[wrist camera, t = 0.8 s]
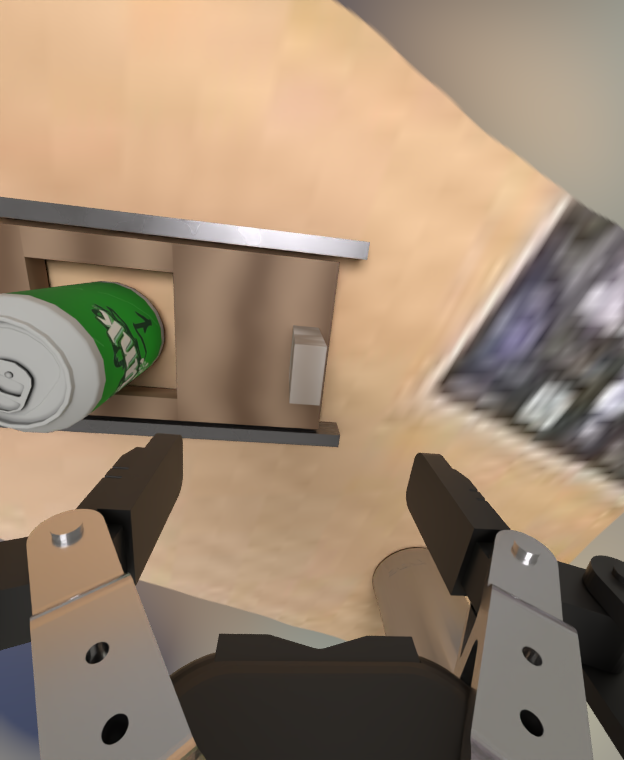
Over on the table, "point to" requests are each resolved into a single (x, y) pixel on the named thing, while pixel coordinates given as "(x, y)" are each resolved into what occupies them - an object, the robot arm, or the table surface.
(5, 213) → the lane rails
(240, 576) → the table surface
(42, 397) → the soda can
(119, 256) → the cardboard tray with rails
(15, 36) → the table surface
